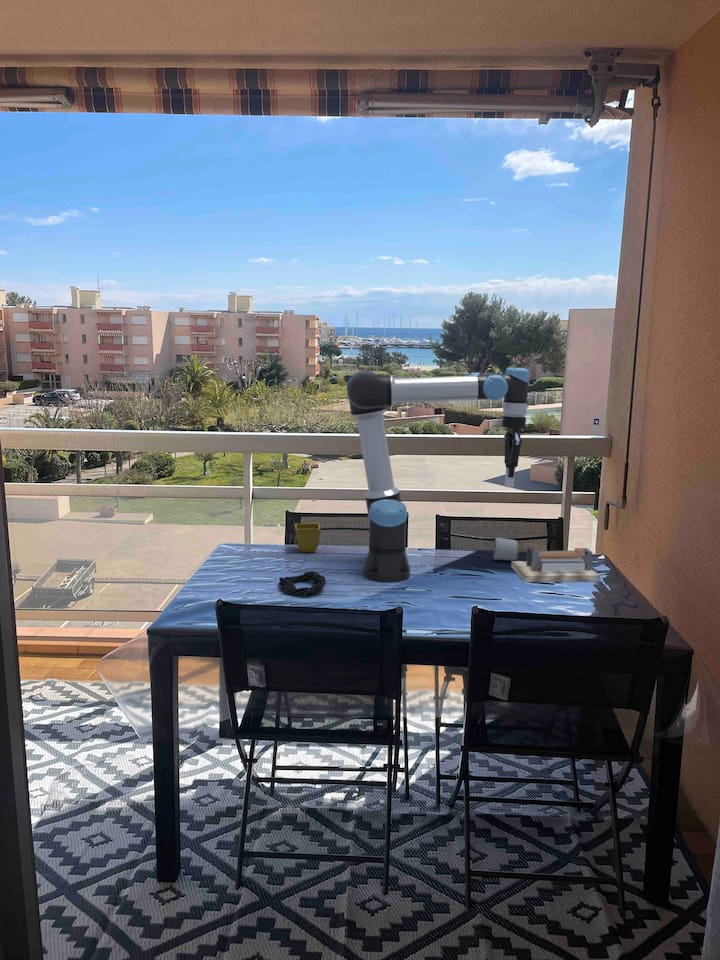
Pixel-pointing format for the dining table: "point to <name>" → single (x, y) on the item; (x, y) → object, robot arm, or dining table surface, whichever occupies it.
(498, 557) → the ceramic mug
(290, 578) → the cable
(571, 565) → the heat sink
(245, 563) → the dining table surface
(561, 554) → the strap
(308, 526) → the flower pot
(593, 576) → the board
